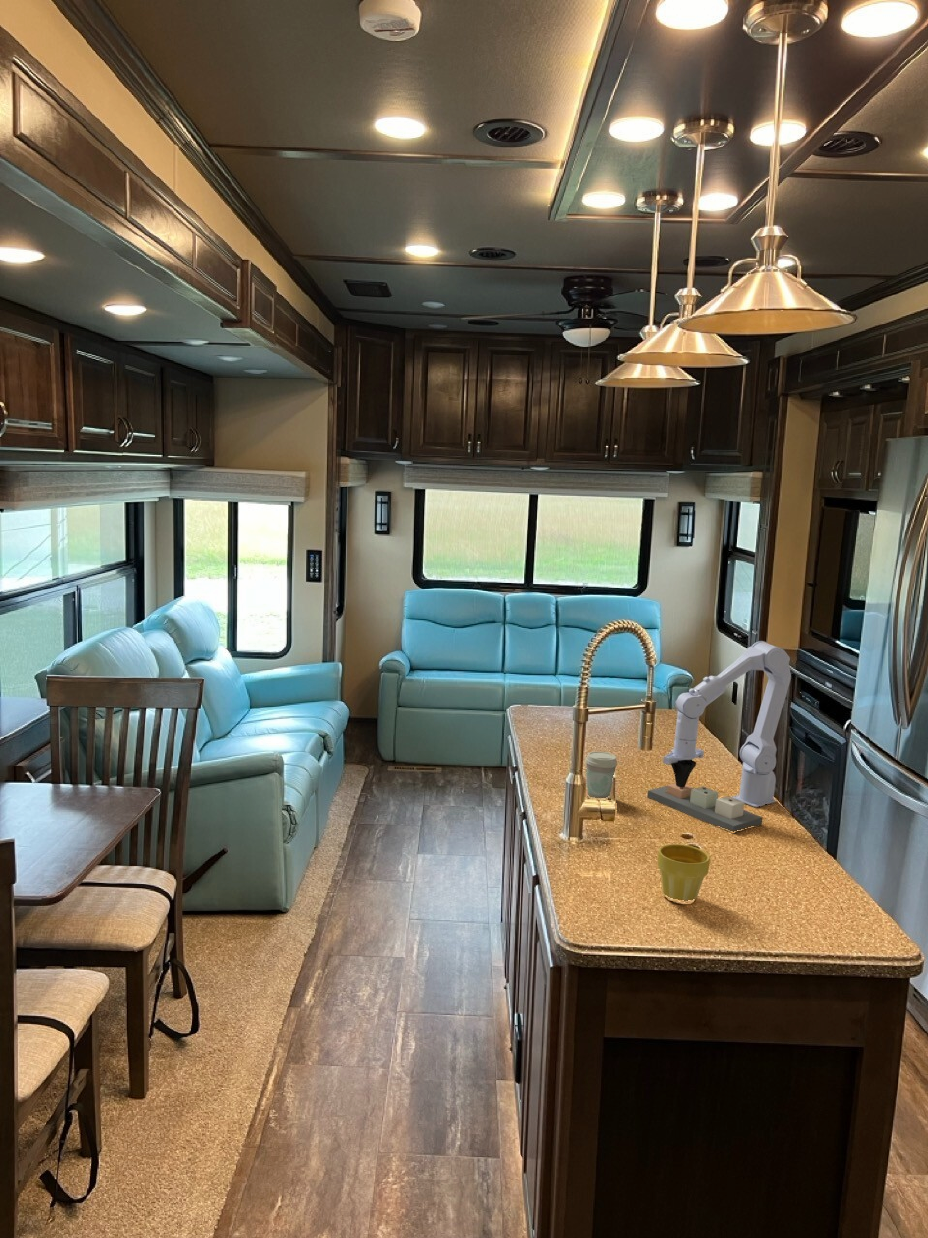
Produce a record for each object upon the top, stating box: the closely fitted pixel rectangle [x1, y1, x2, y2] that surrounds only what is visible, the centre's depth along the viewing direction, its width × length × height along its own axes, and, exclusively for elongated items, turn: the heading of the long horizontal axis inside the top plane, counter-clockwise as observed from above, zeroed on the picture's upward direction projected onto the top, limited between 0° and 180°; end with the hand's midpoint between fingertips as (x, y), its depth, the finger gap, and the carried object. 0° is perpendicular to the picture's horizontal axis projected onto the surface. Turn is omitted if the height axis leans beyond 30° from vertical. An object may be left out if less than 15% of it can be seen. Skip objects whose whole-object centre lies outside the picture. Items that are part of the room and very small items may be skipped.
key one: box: [715, 795, 745, 819], centre depth 232 cm, size 5×5×4 cm
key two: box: [690, 786, 720, 809], centre depth 238 cm, size 5×5×4 cm
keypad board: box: [646, 785, 763, 832], centre depth 239 cm, size 12×28×2 cm, turn 37°
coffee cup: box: [585, 750, 618, 798], centre depth 242 cm, size 8×8×12 cm
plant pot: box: [657, 843, 711, 901], centre depth 187 cm, size 10×10×10 cm
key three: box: [666, 782, 695, 799], centre depth 245 cm, size 5×5×4 cm
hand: (680, 786), depth 245 cm, fingers closed, pressing on key three
